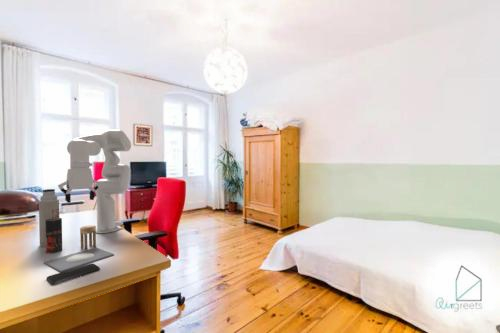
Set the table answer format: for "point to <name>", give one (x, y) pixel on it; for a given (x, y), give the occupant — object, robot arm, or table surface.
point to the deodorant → (53, 235)
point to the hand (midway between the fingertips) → (80, 200)
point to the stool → (89, 230)
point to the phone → (72, 274)
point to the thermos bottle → (47, 212)
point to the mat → (78, 259)
